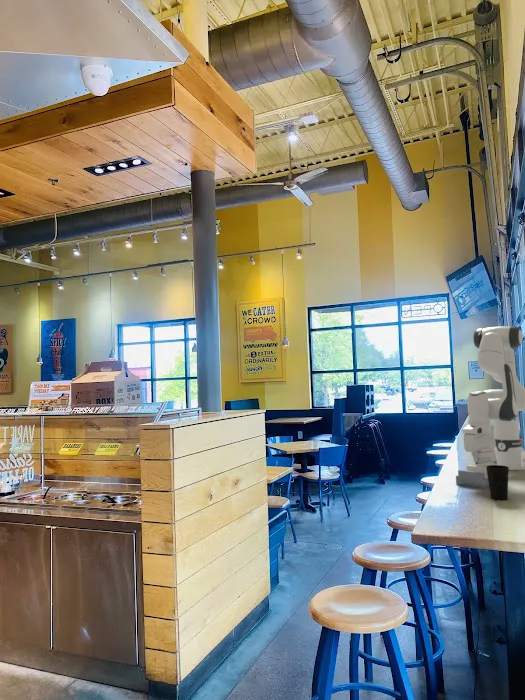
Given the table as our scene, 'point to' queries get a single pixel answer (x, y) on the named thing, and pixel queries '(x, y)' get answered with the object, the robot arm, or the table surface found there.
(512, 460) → the robot arm
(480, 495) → the table surface
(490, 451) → the ink box
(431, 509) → the table surface
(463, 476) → the gray stepped block
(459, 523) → the table surface
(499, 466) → the cup
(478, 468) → the pusher
